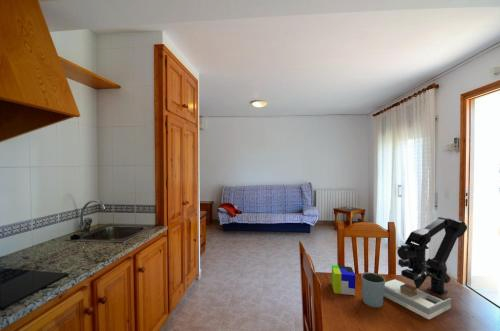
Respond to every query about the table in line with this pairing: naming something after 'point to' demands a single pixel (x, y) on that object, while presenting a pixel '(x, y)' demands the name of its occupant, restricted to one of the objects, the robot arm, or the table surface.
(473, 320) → the table surface
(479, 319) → the table surface
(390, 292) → the tray
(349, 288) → the puzzle toy
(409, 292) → the block
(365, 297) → the grey cup
